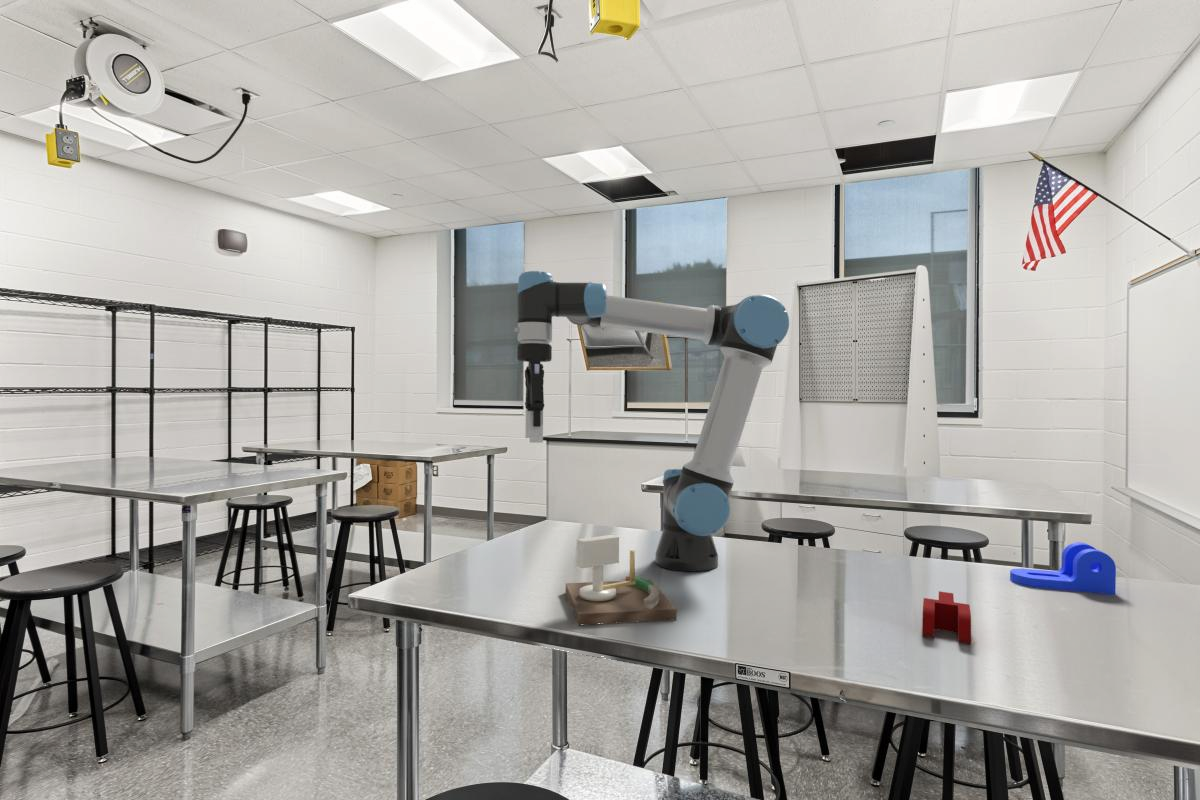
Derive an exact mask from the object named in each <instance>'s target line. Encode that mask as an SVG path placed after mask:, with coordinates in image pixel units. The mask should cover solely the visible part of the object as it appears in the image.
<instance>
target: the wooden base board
mask: <svg viewBox="0 0 1200 800" xmlns="http://www.w3.org/2000/svg"><path fill="white" fill-rule="evenodd" d="M624 581H630V574H628V575H627V576H626V577H625V580H612V581H611V580H610V581H603V585H607V584H613V583H619V582H624ZM587 585H593V581H588V582H585V581H584V582H566V583H565V596H566V598H567V597H568V598H567V601H568V603H569V602H570V603H569V605H570V604H571V605H570V608H571V607H572V608H571V610H572V609H573V610H572V612H574V613H573V615H574V614H575V615H574V617H575V620H576V619H577V620H576V622H577V621H578V622H577V624H579V625H578V626H581V625H580V624H595V625H602V624H601V623H613V624H620V623H619V622H631V623H638V622H637V621H648V622H664V621H677V617H678V616H677V615H678V614H677V609H678V608H677V607H675V605H674V604H673V603H672V602H671V601H670V600H669V599H668V597H667V596H666V595H665V594H664V593H663V592H662V590H661V589H660V588H659V587H658V586H657V584H655V583H654V581H653V580H652V579H646V578H643V577H640V576H637V575H635V584H633V585H627V586H622V587H616V588H615V589H616V597H615V598H613V599H611V600H606V601H590V600H585V599H583V598H581V597H580V588H582V587H584V586H587ZM616 622H617V623H616ZM598 623H600V624H598Z"/></svg>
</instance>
